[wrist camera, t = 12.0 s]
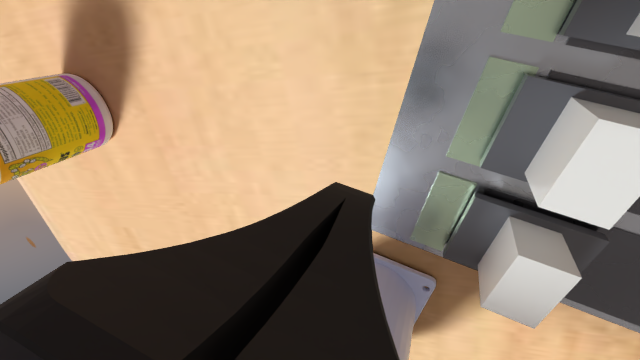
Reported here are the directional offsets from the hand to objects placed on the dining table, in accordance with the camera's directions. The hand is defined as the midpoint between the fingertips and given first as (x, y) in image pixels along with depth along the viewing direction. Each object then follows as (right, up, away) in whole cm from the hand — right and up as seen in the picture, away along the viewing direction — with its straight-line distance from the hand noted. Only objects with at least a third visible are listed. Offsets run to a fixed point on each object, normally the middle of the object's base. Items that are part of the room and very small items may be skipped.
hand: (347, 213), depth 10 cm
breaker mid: (+10, +3, +4) cm, 11 cm away
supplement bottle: (-22, +8, +18) cm, 30 cm away
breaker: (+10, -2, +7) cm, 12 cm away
